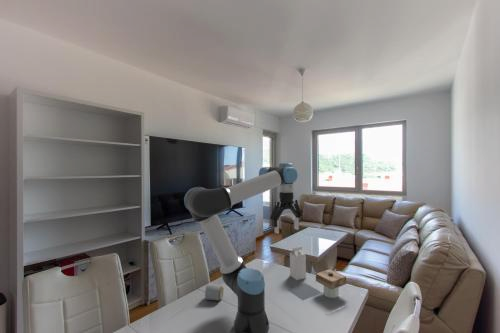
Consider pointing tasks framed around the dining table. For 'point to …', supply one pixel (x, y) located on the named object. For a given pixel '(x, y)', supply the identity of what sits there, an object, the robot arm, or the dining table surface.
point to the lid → (330, 279)
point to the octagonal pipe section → (331, 292)
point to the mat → (304, 291)
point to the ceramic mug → (214, 292)
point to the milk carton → (298, 263)
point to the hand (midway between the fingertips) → (286, 231)
